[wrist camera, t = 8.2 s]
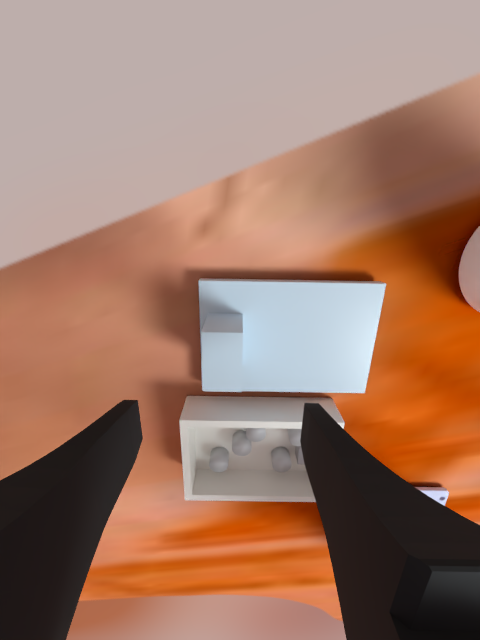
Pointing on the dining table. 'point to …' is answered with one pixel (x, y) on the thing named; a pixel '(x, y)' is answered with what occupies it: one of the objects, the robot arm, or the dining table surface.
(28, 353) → the dining table surface
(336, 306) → the lid
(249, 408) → the tub
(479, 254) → the beverage can
